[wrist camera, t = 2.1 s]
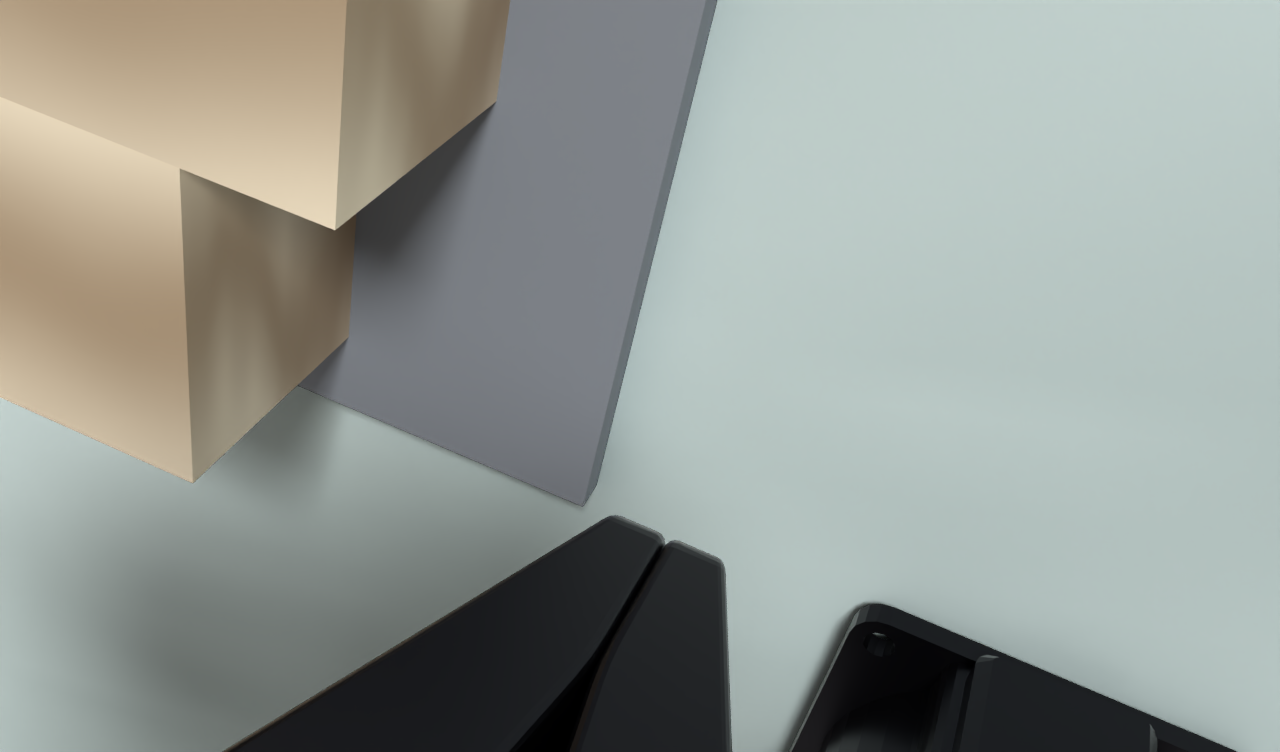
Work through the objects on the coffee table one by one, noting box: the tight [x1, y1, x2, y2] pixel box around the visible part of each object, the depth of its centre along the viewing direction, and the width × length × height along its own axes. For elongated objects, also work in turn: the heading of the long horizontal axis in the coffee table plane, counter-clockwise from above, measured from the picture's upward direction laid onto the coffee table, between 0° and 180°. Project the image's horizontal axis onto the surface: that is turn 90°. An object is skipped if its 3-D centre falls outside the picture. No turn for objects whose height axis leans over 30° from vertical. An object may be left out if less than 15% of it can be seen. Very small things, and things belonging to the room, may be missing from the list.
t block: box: [0, 0, 510, 483], centre depth 16 cm, size 9×8×4 cm
